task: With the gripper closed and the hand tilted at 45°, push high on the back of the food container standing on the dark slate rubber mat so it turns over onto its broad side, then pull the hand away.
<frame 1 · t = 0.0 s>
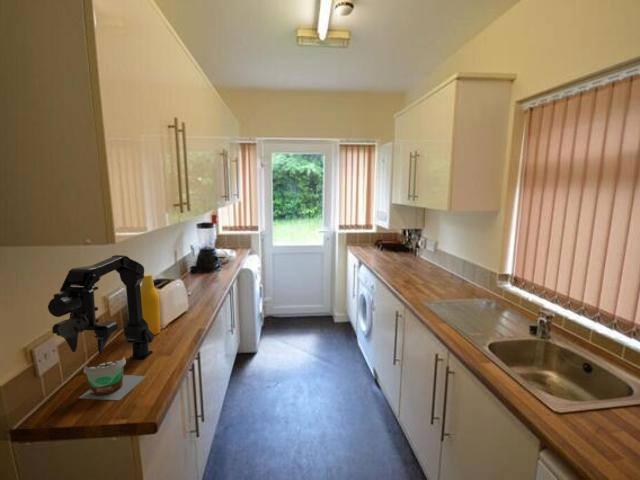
hand: (87, 352, 111), 15 cm above the countertop, tool pointing down, fingers open, 9 cm apart
food container: (107, 392, 114), resting on slate mat
slate mat: (114, 386, 117), on the countertop
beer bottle: (150, 333, 164), on the countertop
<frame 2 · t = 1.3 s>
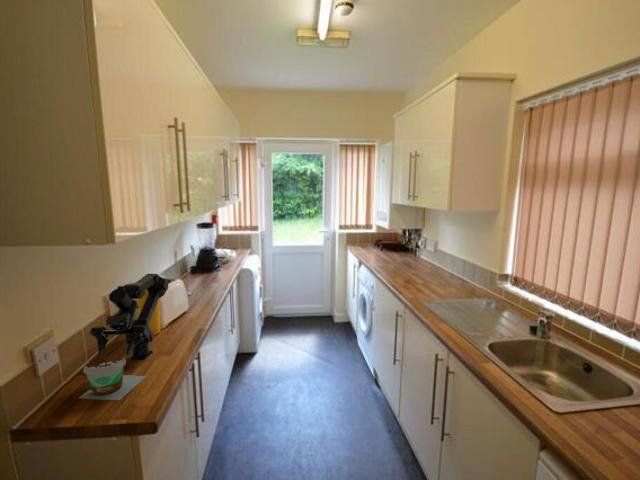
hand: (113, 355, 118), 10 cm above the countertop, tool tilted 45°, fingers open, 9 cm apart
nothing on the countertop moved.
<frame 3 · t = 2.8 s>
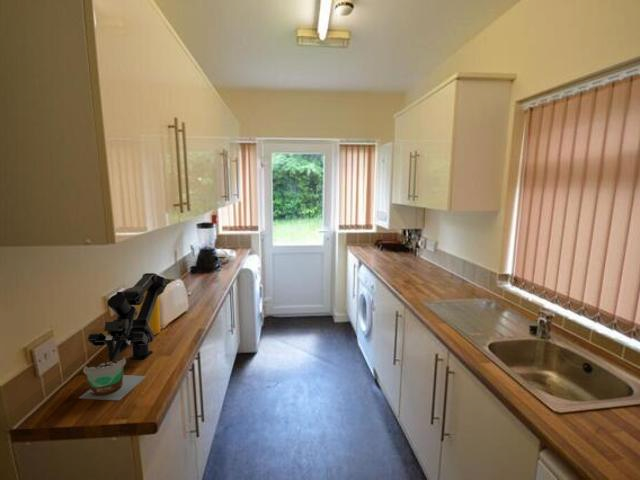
hand: (110, 362, 116), 9 cm above the countertop, tool tilted 45°, fingers closed
food container: (107, 392, 114), resting on slate mat, touching gripper
everything else where it was.
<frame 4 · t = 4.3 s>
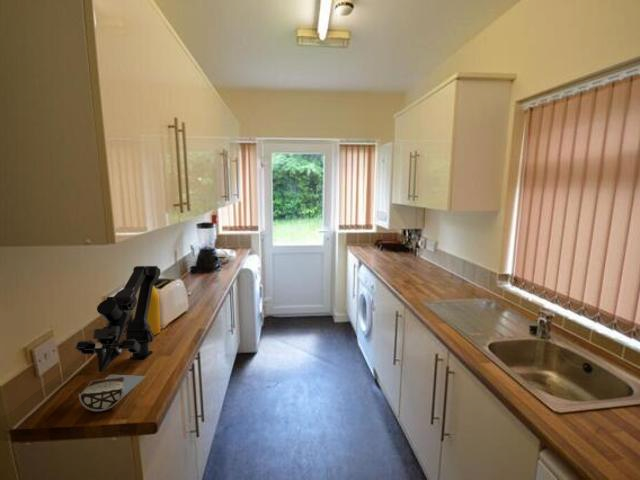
hand: (100, 372, 110), 9 cm above the countertop, tool tilted 45°, fingers closed
food container: (109, 387, 112), point 3 cm above the countertop
everything else where it was.
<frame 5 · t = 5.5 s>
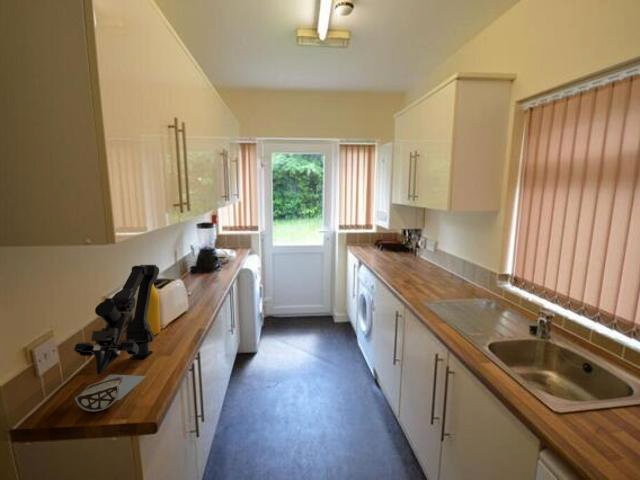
hand: (98, 374, 109), 9 cm above the countertop, tool tilted 45°, fingers closed
food container: (108, 388, 112), point 2 cm above the countertop, touching slate mat
everything else where it was.
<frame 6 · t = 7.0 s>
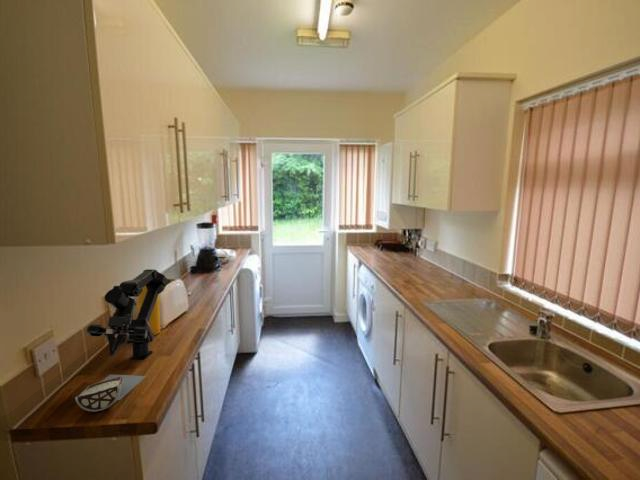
hand: (111, 356, 118), 10 cm above the countertop, tool tilted 40°, fingers closed
nothing on the countertop moved.
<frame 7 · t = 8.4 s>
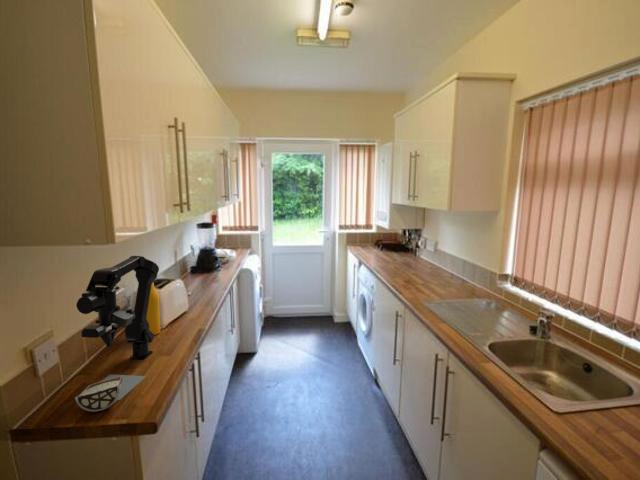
hand: (109, 346, 122), 12 cm above the countertop, tool pointing down, fingers closed
nothing on the countertop moved.
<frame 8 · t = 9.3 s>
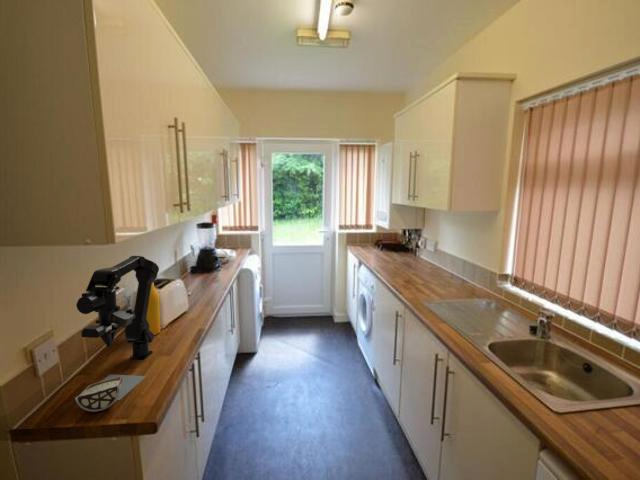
hand: (109, 346, 122), 12 cm above the countertop, tool pointing down, fingers closed
nothing on the countertop moved.
at the end: food container tilted 83°; food container inside the target area (4.1 cm from its centre), point 2.1 cm above the countertop; the gripper is holding nothing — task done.
